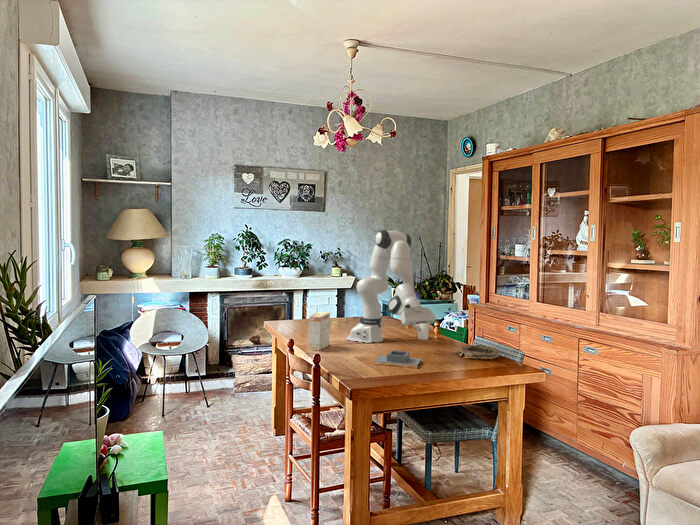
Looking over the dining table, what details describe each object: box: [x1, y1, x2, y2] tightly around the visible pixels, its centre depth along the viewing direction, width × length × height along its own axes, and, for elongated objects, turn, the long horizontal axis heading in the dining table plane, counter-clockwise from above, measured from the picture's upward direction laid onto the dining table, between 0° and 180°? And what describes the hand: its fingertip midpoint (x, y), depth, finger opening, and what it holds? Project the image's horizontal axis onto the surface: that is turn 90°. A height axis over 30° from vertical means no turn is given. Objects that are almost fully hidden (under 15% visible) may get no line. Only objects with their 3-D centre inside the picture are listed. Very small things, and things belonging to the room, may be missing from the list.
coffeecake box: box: [308, 311, 331, 351], centre depth 294 cm, size 15×7×20 cm, turn 160°
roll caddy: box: [373, 350, 422, 366], centre depth 266 cm, size 22×14×5 cm, turn 73°
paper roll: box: [417, 323, 430, 341], centre depth 271 cm, size 5×5×8 cm
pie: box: [457, 344, 501, 358], centre depth 284 cm, size 28×27×5 cm
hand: (424, 330), depth 270 cm, fingers closed on paper roll, 5 cm apart
